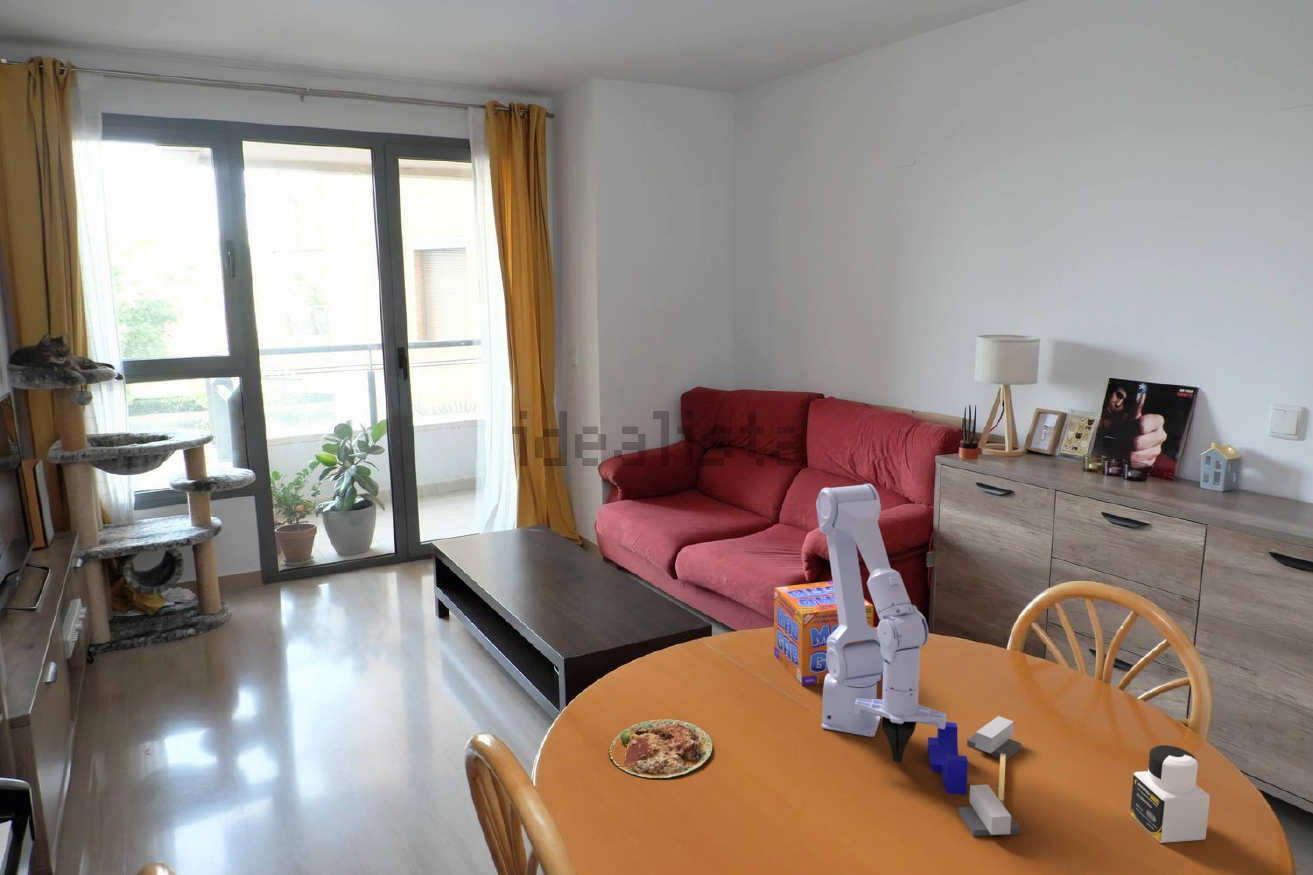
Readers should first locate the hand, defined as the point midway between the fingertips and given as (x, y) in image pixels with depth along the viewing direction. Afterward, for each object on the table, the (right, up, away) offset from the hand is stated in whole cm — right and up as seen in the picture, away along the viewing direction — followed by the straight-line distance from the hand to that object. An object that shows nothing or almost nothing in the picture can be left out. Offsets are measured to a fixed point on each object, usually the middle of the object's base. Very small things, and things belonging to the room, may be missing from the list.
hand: (898, 758), depth 146 cm
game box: (-6, +6, +38) cm, 39 cm away
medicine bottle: (+35, -4, -17) cm, 39 cm away
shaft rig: (+14, -2, -5) cm, 15 cm away
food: (-40, -1, +6) cm, 40 cm away
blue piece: (+7, -2, -2) cm, 8 cm away
